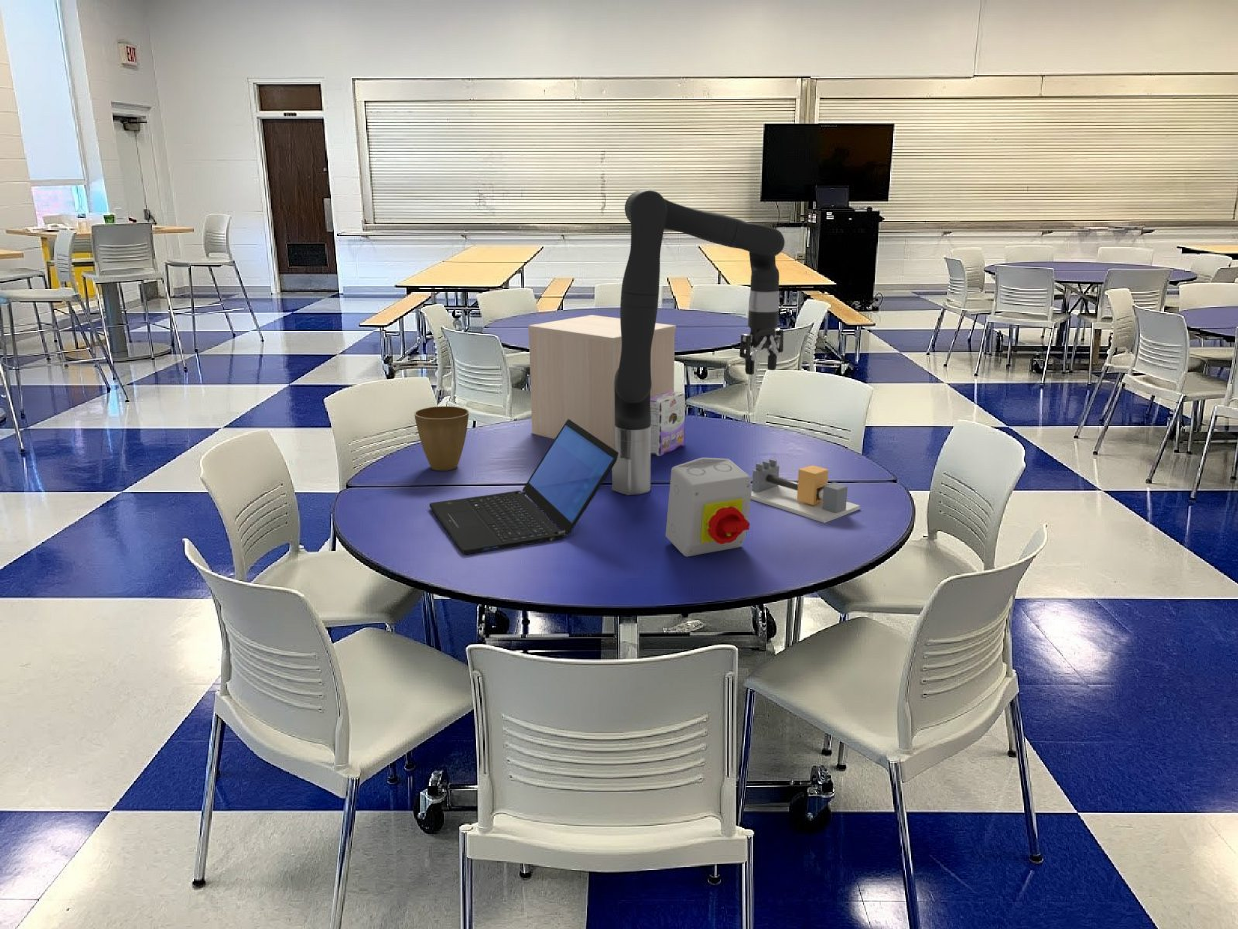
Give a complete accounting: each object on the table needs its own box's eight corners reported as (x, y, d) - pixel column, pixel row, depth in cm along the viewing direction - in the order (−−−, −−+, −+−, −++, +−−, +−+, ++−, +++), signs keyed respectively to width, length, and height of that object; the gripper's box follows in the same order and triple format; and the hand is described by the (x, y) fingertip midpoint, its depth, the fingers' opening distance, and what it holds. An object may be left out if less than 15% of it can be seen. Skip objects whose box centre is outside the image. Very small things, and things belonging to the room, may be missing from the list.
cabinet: (674, 433, 298) (676, 325, 288) (614, 453, 277) (613, 337, 267) (593, 416, 320) (592, 314, 310) (531, 433, 299) (528, 325, 289)
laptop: (428, 509, 233) (423, 434, 227) (571, 489, 247) (569, 418, 241) (462, 558, 204) (457, 472, 198) (621, 532, 218) (621, 452, 212)
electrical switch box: (695, 576, 199) (704, 491, 190) (664, 542, 211) (671, 461, 202) (755, 564, 204) (766, 482, 196) (722, 532, 217) (731, 453, 208)
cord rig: (744, 496, 240) (745, 466, 238) (779, 485, 249) (780, 455, 246) (824, 523, 222) (826, 490, 220) (859, 509, 231) (861, 477, 229)
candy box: (668, 442, 288) (669, 390, 283) (685, 445, 285) (686, 392, 280) (643, 453, 278) (643, 398, 273) (660, 456, 274) (660, 401, 269)
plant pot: (448, 478, 256) (445, 421, 251) (406, 470, 263) (402, 414, 258) (482, 463, 268) (479, 409, 263) (441, 456, 275) (438, 403, 270)
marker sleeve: (796, 500, 233) (798, 469, 230) (809, 495, 236) (811, 465, 234) (813, 505, 229) (815, 473, 227) (826, 500, 233) (828, 469, 230)
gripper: (756, 313, 230) (753, 378, 235) (793, 307, 239) (789, 370, 244) (733, 309, 235) (731, 373, 240) (770, 304, 244) (767, 366, 249)
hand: (760, 372), depth 242 cm, fingers open, 8 cm apart
